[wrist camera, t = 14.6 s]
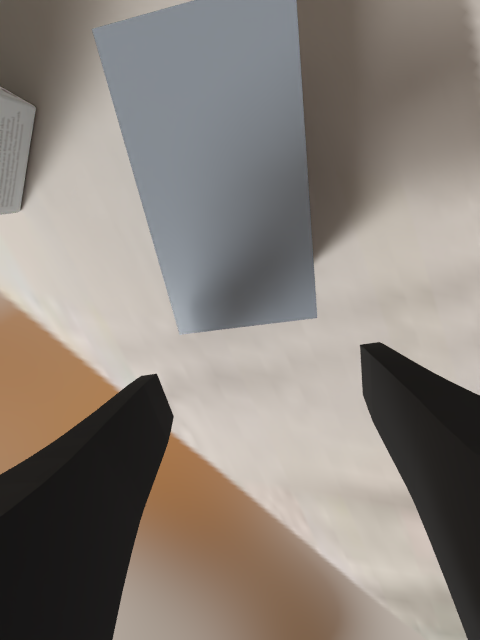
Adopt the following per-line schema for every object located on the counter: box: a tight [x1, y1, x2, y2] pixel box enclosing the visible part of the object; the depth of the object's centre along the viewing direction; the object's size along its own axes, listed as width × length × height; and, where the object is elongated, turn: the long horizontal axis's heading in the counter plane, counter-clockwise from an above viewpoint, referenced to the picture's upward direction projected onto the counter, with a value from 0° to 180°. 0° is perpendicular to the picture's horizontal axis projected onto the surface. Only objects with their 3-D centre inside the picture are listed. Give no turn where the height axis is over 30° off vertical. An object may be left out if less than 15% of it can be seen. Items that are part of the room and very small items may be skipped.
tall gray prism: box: [92, 0, 317, 334], centre depth 13 cm, size 10×6×6 cm, turn 10°
